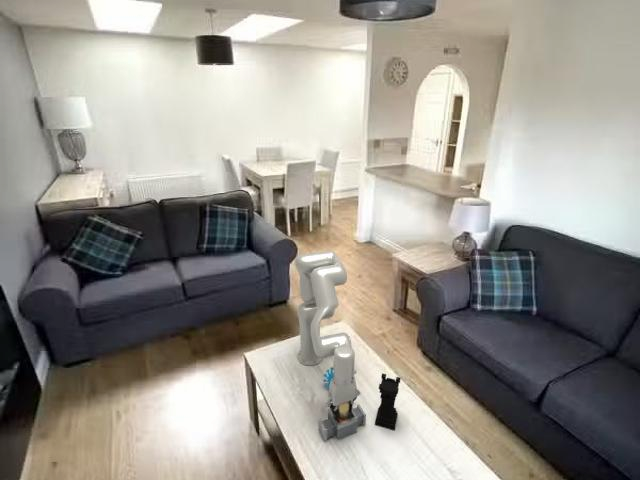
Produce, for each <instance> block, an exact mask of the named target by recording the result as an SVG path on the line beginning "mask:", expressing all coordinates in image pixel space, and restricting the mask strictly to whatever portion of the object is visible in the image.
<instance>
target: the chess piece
mask: <svg viewBox="0 0 640 480" xmlns="http://www.w3.org/2000/svg"><path fill="white" fill-rule="evenodd" d="M380 379H381V382H380V383H379V384H378V390H379V393H380V396H379V397H380V404H379V406H378V408H377V412H376V416H375V420H374V426H376V427H379V428H380V427H381V428H384V429H387V430H391V431H396V427H397V426H396V425H397V421H398V414H399V413H398V410H397V408H396V407H395V405H396V403H395V402H396V399H397V397H398V394H399V390H400V388H399V384H400V383H401V377H399V376H396V379H394V378H391V377H387V374H386V373H381V378H380Z"/></svg>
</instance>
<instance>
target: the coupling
mask: <svg viewBox="0 0 640 480" xmlns="http://www.w3.org/2000/svg"><path fill="white" fill-rule="evenodd" d="M338 411H339V412H338V418H339V419H341V420H345V419H347V418H348V416H349V401H348V402H346V403H343V404H340V405H339V406H338Z"/></svg>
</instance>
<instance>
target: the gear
mask: <svg viewBox="0 0 640 480" xmlns="http://www.w3.org/2000/svg"><path fill="white" fill-rule="evenodd" d="M325 372H326V373H324V374H323V377H324V379H322V380H323V383H327V384H325V388H329V385H330V381H331V379H332V378H333V367H330V369H328V368H327V369H326V370H325Z"/></svg>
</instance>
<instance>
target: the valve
mask: <svg viewBox="0 0 640 480" xmlns="http://www.w3.org/2000/svg"><path fill="white" fill-rule="evenodd" d="M332 411H333V409H331V408H330V407H327V418H325V419H323V420H322V418H319V419H318V423H317V424H318V428H317V430H318V431H319V434H320V436H321V438H322V440H323V442H327V441H328V440H327V439H328V438H330V437H334V438H335V440H336V441H337V442H339V441H340V440H343V439H345V438H348V437H349V436H352V435H354V434H357V433H358V426H360V425H362V426H366V424H367V423H366V422H367V414H366V412H365V411H364V409H363V407H362V406H361V405H360V404H359V403H358V404H357V405H356V407H354V408H352V412H351V413H350V412H349V416H348V418H347V419H345V420H341V419H339V418H336V416H335V415H333V412H332Z"/></svg>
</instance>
